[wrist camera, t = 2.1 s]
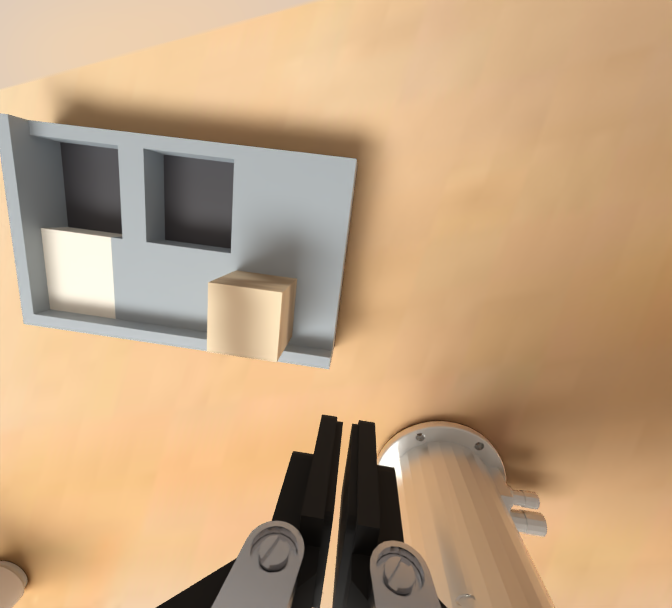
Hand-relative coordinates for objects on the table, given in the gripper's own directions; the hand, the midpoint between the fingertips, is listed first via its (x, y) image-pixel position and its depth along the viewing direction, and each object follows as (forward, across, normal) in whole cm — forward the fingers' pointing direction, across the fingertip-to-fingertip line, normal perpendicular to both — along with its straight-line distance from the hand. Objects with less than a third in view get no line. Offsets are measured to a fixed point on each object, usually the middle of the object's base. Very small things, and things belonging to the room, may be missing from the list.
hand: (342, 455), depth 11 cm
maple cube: (+16, +8, 0) cm, 18 cm away
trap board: (+19, +14, -4) cm, 24 cm away
